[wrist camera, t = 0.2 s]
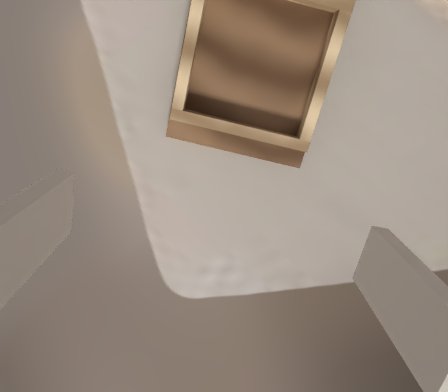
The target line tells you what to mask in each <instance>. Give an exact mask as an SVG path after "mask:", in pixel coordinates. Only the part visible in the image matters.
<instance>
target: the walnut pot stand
mask: <svg viewBox="0 0 448 392" xmlns="http://www.w3.org/2000/svg"><path fill="white" fill-rule="evenodd" d="M355 1H356V0H191V4H190V10H189V15H188V20H187V26H186V31H185V36H184V42H183V47H182V53H181V58H180V63H179V69H178V74H177V79H176V85H175V90H174V96H173V101H172V106H171V112H170V117H169V122H168V128H167V133H166V137H171V138H175V139H179V140H183V141H187V142H192V143H196V144H200V145H204V146H208V147H213V148H217V149H221V150H225V151H229V152H233V153H238V154H242V155H246V156H250V157H254V158H259V159H263V160H267V161H271V162H275V163H280V164H284V165H288V166H292V167H296V168H300V165H301V162H302V159H303V156H304V153H305V152H307V150H308V147H309V144H310V141H311V138H312V135H313V132H314V129H315V125H316V122H317V119H318V116H319V113H320V110H321V107H322V104H323V101H324V97H325V94H326V91H327V88H328V85H329V82H330V79H331V76H332V72H333V69H334V66H335V63H336V60H337V57H338V54H339V51H340V48H341V44H342V41H343V38H344V35H345V32H346V29H347V26H348V23H349V20H350V16H351V13H352V10H353V7H354V4H355Z"/></svg>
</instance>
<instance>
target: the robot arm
mask: <svg viewBox="0 0 448 392" xmlns="http://www.w3.org/2000/svg"><path fill="white" fill-rule="evenodd" d="M74 174H75V173H73V172H67V171H62V170H54V171H53V172H51V173H50V174H48V175H46V176H45V177H43V178H42V179H40V180H38V181H37V182H35V183H33V184H32V185H30V186H29V187H27V188H25V189H24V190H22V191H20V192H19V193H17V194H16V195H14V196H12V197H11V198H9V199H8V200H6V201H4V202H3V203H1V204H0V309H1V308H2V307H3V306H4V305H5V304H6V303H7V302H8V300H9V299H10V298H11V297H12V296H13V295H14V294H15V293H16V292H17V291H18V289H19V288H20V287H21V286H22V285H23V284H24V283H25V282H26V281H27V280H28V278H29V277H30V276H31V275H32V274H33V273H34V272H35V271H36V270H37V268H38V267H39V266H40V265H41V264H42V263H43V262H44V261H45V260H46V259H47V257H48V256H49V255H50V254H51V253H52V252H53V251H54V250H55V249H56V248H57V247H58V246H59V244H60V243H61V242H62V241H63V240H64V239H65V238H66V237H67V236H68V235H69V233H70V232H71V231H72V212H73V194H74ZM353 280H354V281H355V283H356V284H357V286H358V288H359V289H360V290H361V292H362V294H363V296H364V297H365V299H366V300H367V302H368V304H369V305H370V307H371V308H372V310H373V312H374V313H375V315H376V316H377V318H378V320H379V321H380V323H381V324H382V326H383V328H384V329H385V331H386V332H387V334H388V336H389V337H390V338H391V340H392V342H393V343H394V345H395V346H396V348H397V350H398V351H399V353H400V355H401V356H402V358H403V359H404V361H405V363H406V364H407V366H408V367H409V369H410V370H411V372H412V373H413V375H414V377H415V379H416V380H417V382H418V383H419V385H420V386H421V388H422V390H423V391H424V392H448V286H447V285H446V284H445V283H444V282H442V280H440V279H439V278H438V277H437V276H436V275H435V274H434V273H433V272H432V271H431V270H430V269H429V268H428V267H427V266H426V265H425V264H424V263H423V262H422V261H421V260H420V259H419V258H418V257H417V256H416V255H415V254H414V253H413V252H412V251H410V250H409V249H408V248H407V247H406V246H405V245H404V244H403V243H402V242H401V241H400V240H399V239H398V238H397V237H396V236H395V235H394V234H393V233H392V232H391V231H390V230H389V229H386V228H380V227H375V226H372V227H371V230H370V232H369V235H368V238H367V240H366V243H365V246H364V249H363V251H362V254H361V257H360V259H359V262H358V265H357V267H356V270H355V273H354V275H353Z"/></svg>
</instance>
